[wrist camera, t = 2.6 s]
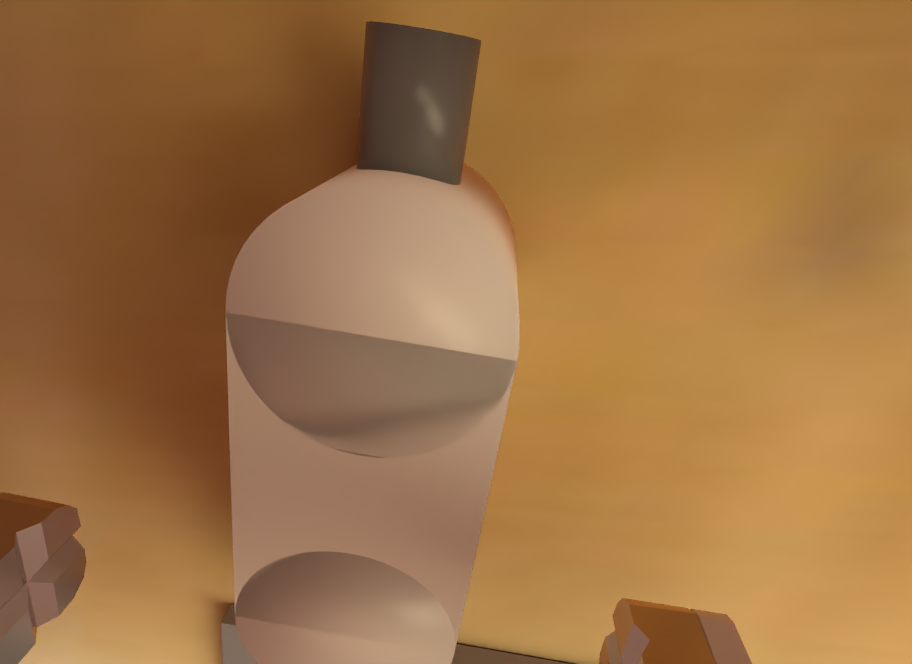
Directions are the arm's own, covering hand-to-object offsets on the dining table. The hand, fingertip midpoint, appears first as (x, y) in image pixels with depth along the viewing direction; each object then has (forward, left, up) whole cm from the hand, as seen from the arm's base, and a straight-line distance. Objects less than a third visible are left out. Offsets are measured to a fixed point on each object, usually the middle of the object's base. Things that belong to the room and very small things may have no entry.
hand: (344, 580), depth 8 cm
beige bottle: (-1, 0, -5) cm, 5 cm away
